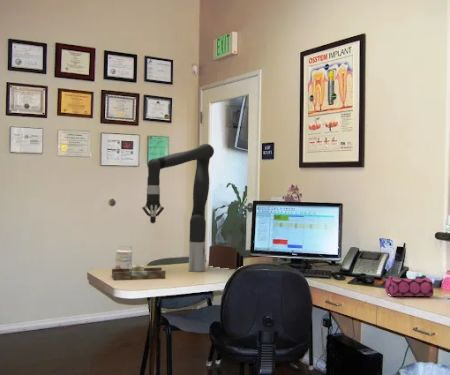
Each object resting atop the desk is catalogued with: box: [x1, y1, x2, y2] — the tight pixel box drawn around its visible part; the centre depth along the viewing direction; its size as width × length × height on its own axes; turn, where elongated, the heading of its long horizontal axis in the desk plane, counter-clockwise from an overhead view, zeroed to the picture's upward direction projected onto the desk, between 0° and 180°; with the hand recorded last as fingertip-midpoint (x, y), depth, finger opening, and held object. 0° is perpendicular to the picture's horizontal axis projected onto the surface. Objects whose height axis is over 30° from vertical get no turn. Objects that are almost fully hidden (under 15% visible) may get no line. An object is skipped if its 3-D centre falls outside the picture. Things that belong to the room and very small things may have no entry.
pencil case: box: [384, 275, 435, 297], centre depth 234 cm, size 21×10×10 cm, turn 96°
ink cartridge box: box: [114, 244, 133, 269], centre depth 283 cm, size 9×5×15 cm, turn 84°
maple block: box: [132, 264, 145, 272], centre depth 266 cm, size 6×6×4 cm
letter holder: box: [207, 245, 245, 270], centre depth 305 cm, size 10×20×14 cm, turn 59°
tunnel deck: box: [111, 267, 166, 281], centre depth 265 cm, size 27×12×4 cm, turn 109°
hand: (152, 223), depth 284 cm, fingers closed
